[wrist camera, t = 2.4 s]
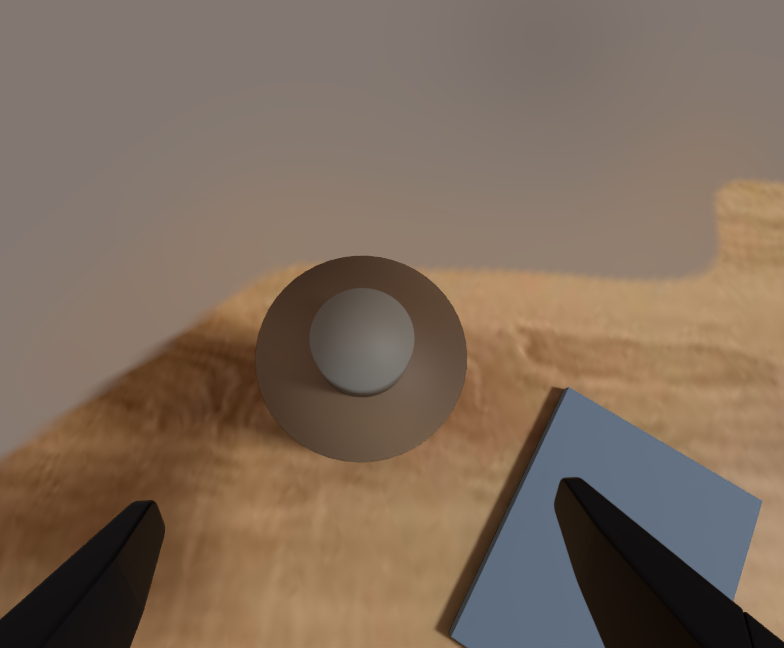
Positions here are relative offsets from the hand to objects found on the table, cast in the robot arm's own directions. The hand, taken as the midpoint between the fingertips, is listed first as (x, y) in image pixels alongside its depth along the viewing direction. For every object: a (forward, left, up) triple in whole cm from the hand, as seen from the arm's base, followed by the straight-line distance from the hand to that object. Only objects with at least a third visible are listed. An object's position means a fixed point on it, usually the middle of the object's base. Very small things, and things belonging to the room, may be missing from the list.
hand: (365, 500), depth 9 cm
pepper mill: (+3, +2, -10) cm, 11 cm away
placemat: (+3, -11, -10) cm, 15 cm away
